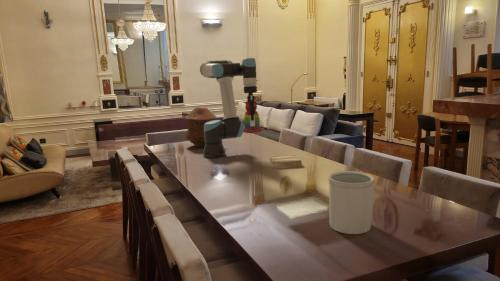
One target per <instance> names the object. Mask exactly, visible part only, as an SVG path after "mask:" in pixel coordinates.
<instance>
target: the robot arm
mask: <svg viewBox="0 0 500 281" xmlns="http://www.w3.org/2000/svg"><path fill="white" fill-rule="evenodd" d="M199 72H200V75H201V76H203V78H204V77H205V78H208V79H216V82H217V83H218V84H219V89H220V90H219V92H220V98H221V103H222V111H223V116H224V117H223V118H222V119H215V120H214V121H209V122H207V123H205V124H204V137H205V147H203V152H202V155H203V156H202V157H203V158H206V159H207V158H208V159H216V158H222V157H224V156H226V152H227V151H226V150H225V147H224V144H223V140H228V139H236V138H241V137H242V136H243V135H244V131H243V130H244V129H245V126H244V120H241V119H240V116H238V114H237V110H236V109H237V108H236V102H235V95H234V94H235V93H234V88H233V82H232V81H234V77H242V80H243V84H242V85H243V86H244V87H243V93H244V94H248V95H247V96H246V98H247V102H248V104H249V108H250V113H249V115H250V126H255V115H254V114H255V112H254V101H255V96H254V94H256V93H258V86H257V85H258V83H257V82H258V79H257V62H256V58H254V57H249V58H248V57H247V58H246V57H245V58H243V59H242V60H241V62H233V61H232V60H230V59H229V60H208V61H204V62H203V63H202V64H201V65H200V67H199Z"/></svg>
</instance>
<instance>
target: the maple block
mask: <svg viewBox="0 0 500 281" xmlns="http://www.w3.org/2000/svg"><path fill="white" fill-rule="evenodd" d="M269 163H270V165H271V167H272V169H273V168H274V169H286V168H302V160H301V159H300V157H298V156H297V154H284V155H269Z"/></svg>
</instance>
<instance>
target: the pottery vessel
mask: <svg viewBox="0 0 500 281" xmlns="http://www.w3.org/2000/svg"><path fill="white" fill-rule="evenodd" d="M216 119H217V115H216V114H214V113H213V112H212V111H211V110H210V109H208V107H206V106H199V107H198V106H197V107H194V108H193V109H192V110H191V111H190V113H189V114H187V115H186V116H185V120H187V130H186V132H185V134H184V138H186V140H188V141H189V142H190V143H191V144H193V145H194V146H195V148H204V147H205V137H204V124H205V123H207V122H209V121H214V120H216Z"/></svg>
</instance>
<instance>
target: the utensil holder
mask: <svg viewBox="0 0 500 281" xmlns="http://www.w3.org/2000/svg"><path fill="white" fill-rule="evenodd" d="M327 177H328V178H327V179H328V200H329V201H328V215H329V217H328V218H329V220H328V221H329V226H330V228H331V229H332V230H334V231H336V232H339V233H342V234H347V235H361V234H364V233H367V232H369V231H370V230H371V228H372V218H373V217H372V216H373V201H374V200H373V196H374V184H375V177H374V176H373V175H371V174H368V173H366V172H361V171H353V170H352V171H351V170H349V171H348V170H343V171H334V172H332V173H329V175H328V176H327Z"/></svg>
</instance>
